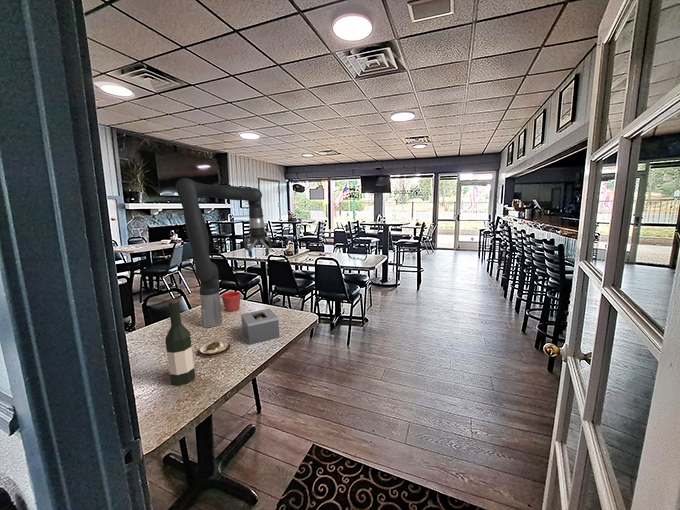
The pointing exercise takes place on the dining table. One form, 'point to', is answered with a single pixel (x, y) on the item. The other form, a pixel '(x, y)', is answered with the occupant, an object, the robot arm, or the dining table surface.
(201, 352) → the plate of food
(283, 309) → the dining table surface
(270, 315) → the box
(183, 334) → the wine bottle
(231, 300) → the flower pot
